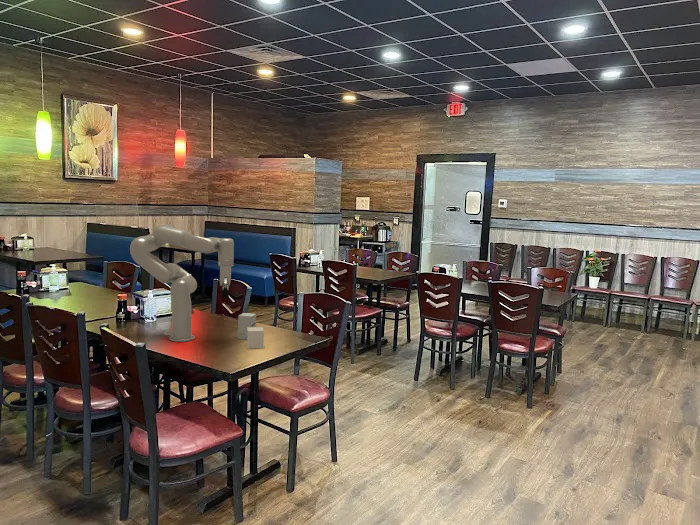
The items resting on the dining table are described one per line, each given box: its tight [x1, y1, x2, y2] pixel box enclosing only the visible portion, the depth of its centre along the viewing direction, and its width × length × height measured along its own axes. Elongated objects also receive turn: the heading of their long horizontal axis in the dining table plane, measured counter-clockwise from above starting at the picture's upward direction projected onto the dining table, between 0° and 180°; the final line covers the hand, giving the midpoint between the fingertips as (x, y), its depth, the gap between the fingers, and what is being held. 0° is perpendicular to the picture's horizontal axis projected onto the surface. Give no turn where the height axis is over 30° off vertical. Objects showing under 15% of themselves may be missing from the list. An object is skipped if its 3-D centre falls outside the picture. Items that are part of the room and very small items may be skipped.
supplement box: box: [237, 312, 257, 341], centre depth 287 cm, size 7×7×13 cm
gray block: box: [246, 326, 265, 350], centre depth 272 cm, size 8×8×9 cm
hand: (225, 296), depth 277 cm, fingers open, 9 cm apart
